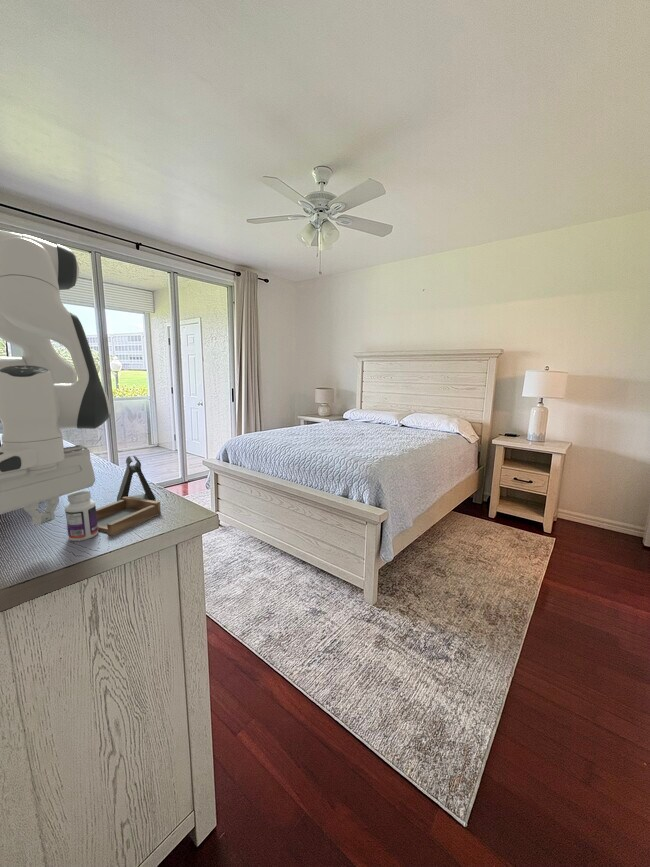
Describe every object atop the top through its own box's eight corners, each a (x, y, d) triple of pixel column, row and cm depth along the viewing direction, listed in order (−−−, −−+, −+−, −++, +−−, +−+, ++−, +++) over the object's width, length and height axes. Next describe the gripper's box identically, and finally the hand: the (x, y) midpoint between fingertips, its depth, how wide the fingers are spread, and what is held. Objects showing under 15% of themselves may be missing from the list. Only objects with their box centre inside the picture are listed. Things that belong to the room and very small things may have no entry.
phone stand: (118, 506, 94) (114, 462, 93) (116, 499, 99) (113, 457, 97) (155, 499, 99) (152, 458, 97) (152, 493, 104) (149, 453, 102)
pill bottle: (91, 528, 81) (87, 487, 79) (103, 534, 78) (98, 492, 76) (64, 537, 77) (58, 493, 75) (74, 544, 74) (69, 499, 72)
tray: (75, 527, 81) (73, 515, 81) (126, 507, 94) (125, 496, 93) (112, 535, 77) (110, 522, 77) (160, 513, 90) (159, 501, 90)
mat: (87, 525, 82) (87, 524, 82) (126, 509, 92) (126, 508, 92) (114, 531, 80) (114, 530, 79) (152, 514, 89) (152, 513, 89)
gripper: (77, 442, 78) (84, 502, 80) (-44, 463, 59) (-31, 541, 61) (98, 444, 76) (104, 506, 78) (-21, 467, 57) (-9, 548, 59)
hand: (44, 522), depth 70 cm, fingers closed
